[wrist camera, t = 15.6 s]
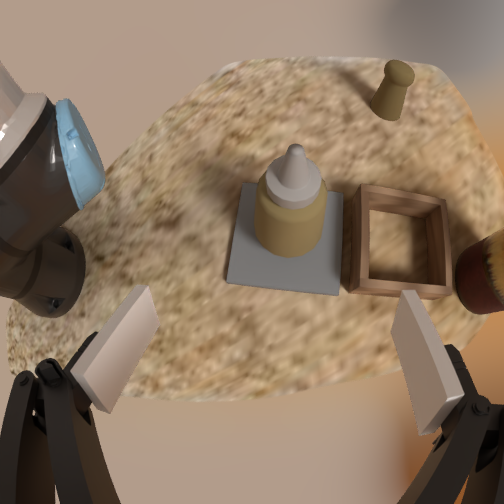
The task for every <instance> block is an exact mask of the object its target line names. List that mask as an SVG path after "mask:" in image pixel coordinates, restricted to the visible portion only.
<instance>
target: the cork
mask: <svg viewBox="0 0 504 504" xmlns="http://www.w3.org/2000/svg"><path fill="white" fill-rule="evenodd" d="M384 73H385V77H384V79H383V81H382V83H381V84H380V86H379V88H378V90H377V92H376V94H375V95H374V97H373V99H372V101H371V103H370V106H371V109H372V111H373V112H374V113H375V114H376V115H377V116H379V117H380V118H382V119H385V120H388V121H395V120H398V119H399V118H400V115H401V111H402V107H403V103H404V99H405V95H406V91H407V87H408V86H410V85H411V84H412V83H413V81H414V77H415V74H414V71H413V69H412V68H411V67H410V66H409V65H407V64H406V63H404V62H402V61H399V60H390V61H389V62H387V63H386V65H385V68H384Z"/></svg>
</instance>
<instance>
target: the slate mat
mask: <svg viewBox="0 0 504 504" xmlns="http://www.w3.org/2000/svg"><path fill="white" fill-rule="evenodd" d="M257 186H258V184H257V183H244V182H243V185H242V190H241V196H240V202H239V208H238V214H237V219H236V225H235V231H234V237H233V243H232V249H231V256H230V262H229V268H228V274H227V281H226V282H227V283H228V284H236V285H244V286H252V287H260V288H268V289H277V290H286V291H295V292H304V293H313V294H323V295H333V296H338V295H339V287H340V274H341V257H342V235H343V193H340V192H332V191H327V192H328V195H327V203H326V210H325V217H324V224H323V230H322V235H321V239H320V240H319V242H318V243H317V244H316V246H315V247H314V249H312V250H311V251H309V252H307V253H306V254H304V255H303V256H298V257H292V258H285V257H281V256H277V255H274V254H272V253H271V252H269V251H268V250H266V249H265V248H264V247H263V246H262V245H261V243H260V242H259V240H258V238H257V237H256V234H255V227H254V214H255V200H256V189H257Z"/></svg>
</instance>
